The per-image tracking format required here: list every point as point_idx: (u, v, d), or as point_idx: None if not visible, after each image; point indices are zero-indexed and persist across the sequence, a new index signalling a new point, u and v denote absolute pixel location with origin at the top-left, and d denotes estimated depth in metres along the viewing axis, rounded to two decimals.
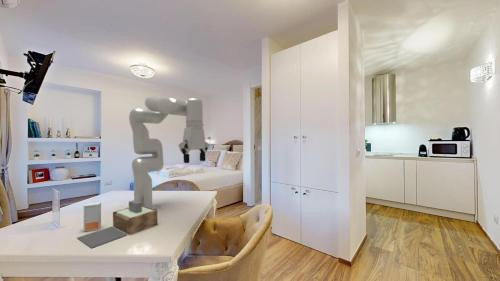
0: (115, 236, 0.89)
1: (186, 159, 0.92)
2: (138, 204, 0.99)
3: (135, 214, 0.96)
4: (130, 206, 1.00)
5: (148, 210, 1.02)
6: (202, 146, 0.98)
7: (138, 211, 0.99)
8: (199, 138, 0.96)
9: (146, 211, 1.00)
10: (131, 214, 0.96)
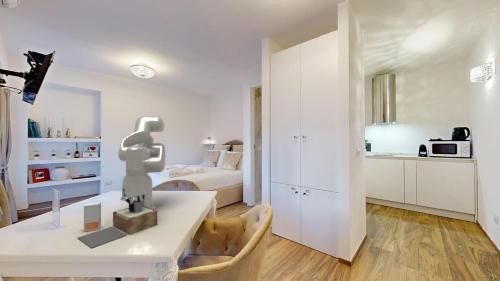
0: (115, 236, 0.89)
1: (131, 208, 0.98)
2: (138, 204, 0.99)
3: (135, 214, 0.96)
4: None
5: (148, 210, 1.02)
6: (143, 192, 1.02)
7: (138, 211, 0.99)
8: (139, 185, 1.00)
9: (146, 211, 1.00)
10: (131, 214, 0.96)
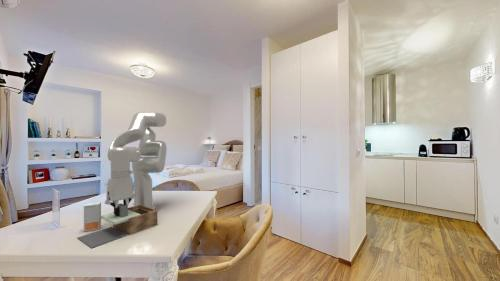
0: (115, 236, 0.89)
1: (116, 212, 0.93)
2: (124, 208, 0.93)
3: (120, 218, 0.91)
4: None
5: (135, 214, 0.96)
6: (129, 195, 0.97)
7: (124, 215, 0.93)
8: (125, 188, 0.95)
9: (132, 215, 0.95)
10: (116, 218, 0.91)
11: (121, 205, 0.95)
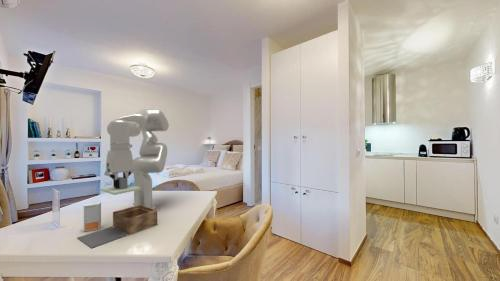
0: (115, 236, 0.89)
1: (115, 185, 0.93)
2: (123, 180, 0.93)
3: (120, 190, 0.91)
4: None
5: (134, 187, 0.96)
6: (129, 168, 0.96)
7: (123, 187, 0.93)
8: (124, 160, 0.94)
9: (132, 188, 0.95)
10: (115, 190, 0.91)
11: (121, 178, 0.95)
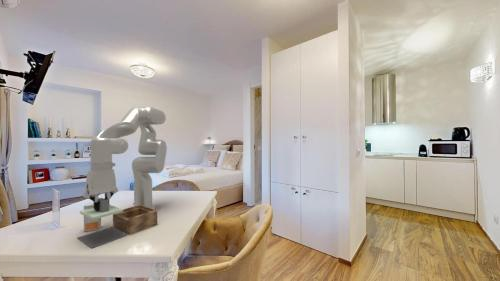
0: (115, 236, 0.89)
1: (96, 207, 0.86)
2: (104, 202, 0.87)
3: (100, 213, 0.84)
4: None
5: (117, 209, 0.90)
6: (111, 189, 0.90)
7: (104, 210, 0.87)
8: (106, 181, 0.88)
9: (114, 210, 0.88)
10: (95, 213, 0.84)
11: (102, 199, 0.89)
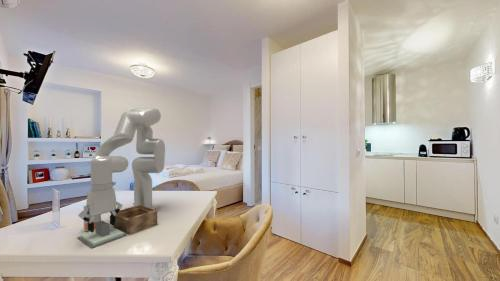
0: None
1: (90, 228, 0.85)
2: (105, 226, 0.87)
3: (101, 238, 0.85)
4: (97, 228, 0.89)
5: (117, 232, 0.90)
6: (111, 208, 0.90)
7: (105, 234, 0.87)
8: (106, 201, 0.88)
9: (115, 234, 0.89)
10: (96, 238, 0.85)
11: (102, 223, 0.89)
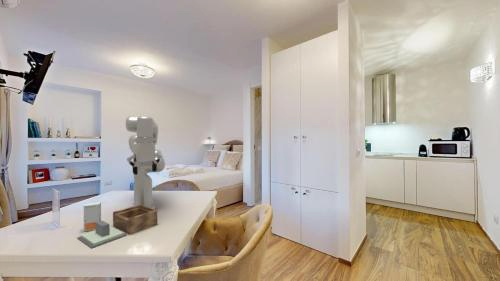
0: None
1: (134, 171, 1.04)
2: (105, 226, 0.87)
3: (101, 238, 0.85)
4: (97, 228, 0.89)
5: (117, 232, 0.90)
6: (152, 159, 1.10)
7: (105, 234, 0.87)
8: (148, 152, 1.08)
9: (115, 234, 0.89)
10: (96, 238, 0.85)
11: (102, 223, 0.89)
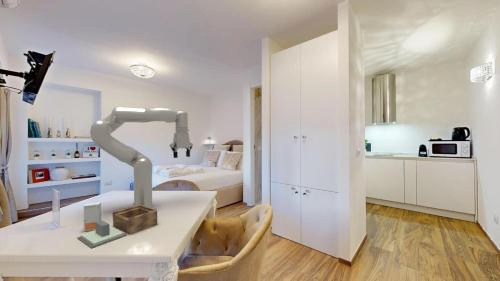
0: None
1: (175, 155, 1.28)
2: (105, 226, 0.87)
3: (101, 238, 0.85)
4: (97, 228, 0.89)
5: (117, 232, 0.90)
6: (187, 146, 1.35)
7: (105, 234, 0.87)
8: (185, 140, 1.33)
9: (115, 234, 0.89)
10: (96, 238, 0.85)
11: (102, 223, 0.89)
